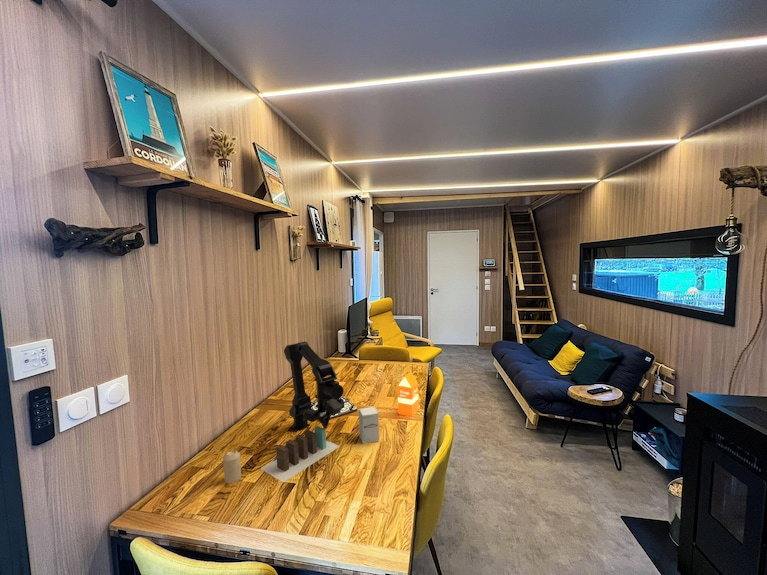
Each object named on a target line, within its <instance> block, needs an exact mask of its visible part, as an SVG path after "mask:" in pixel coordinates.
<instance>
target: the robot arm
mask: <svg viewBox="0 0 767 575" xmlns="http://www.w3.org/2000/svg"><path fill="white" fill-rule="evenodd" d="M283 354H284V356H285V359H286V361H287V362H288V363H289V364H290V370H291V371H290V372H291V378H292V385H293V392H294V395H293V397H292V401H291V404H292V406H291V407H290V408H289V409H288V413H289V416H290V417H292V418H293V425H291V427H290V428H291V429H294V430H296V431H300V432H301V431H302V430H305V429H306V428H309V427H310V426H311V424H310V423H314V422H316V421H319V422H320V424H321V427H322V428H324V429H326V430H327V429H328V427H329V423H330V419H331V416H336V415H337V414H340V413H341V410H342V409H343V408H345V401H344V399H343V398H342V397H343V395H344V392H345V391H344V388H343V386H342V385H341V384H340V382H339V381H336V380H338V377H337V373H336V372H335V370H334V367H333V365H332V364H331V362H329V361H328V360H326V359H324V358H321V357H320V356H319V355H318V354H317V353H316V352H315V351H314V350H313V348H311V347H310V345H309V343H308V341H301V342H297V343H291V344H287V345H286V346H285V348H284V349H283ZM303 358H304V359H305V361H306V362H307V363H308V364H309V366H310V367H311V373H312V374H313V376H314V377H315V378H314V379H313V380H314V381H315V382H316V395H315V396H314V398H315V399H317V400H316V401H317V403H316V405H315V408H317V409H312V406H313V405H312V401H311V400H312V399H311V396H310V395H308V394H307V393H306V389H305V381H304V374H303V369H302V368H303V367H302V360H303ZM309 422H310V423H309Z"/></svg>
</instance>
